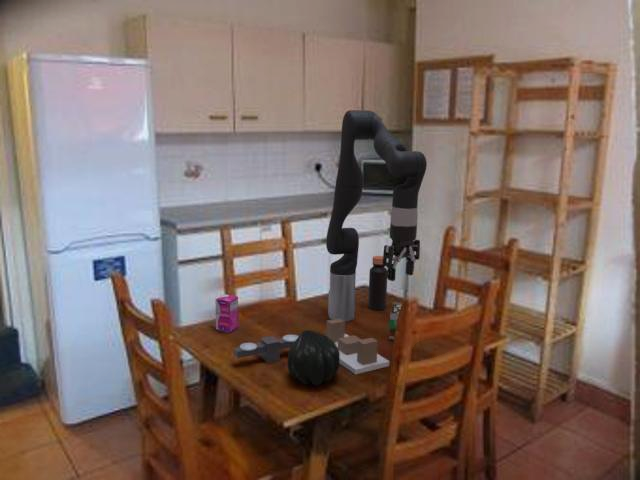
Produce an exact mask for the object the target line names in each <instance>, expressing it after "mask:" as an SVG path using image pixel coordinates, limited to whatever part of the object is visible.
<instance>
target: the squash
mask: <svg viewBox="0 0 640 480" xmlns="http://www.w3.org/2000/svg"><path fill="white" fill-rule="evenodd" d="M298 335H299V337H298V338H297V339H296V340H295V342H294V343H293V344H292V346H291V347H290V348H289V350H288V356H287V360H286V361H287V369H288V372H289V374H290V376H292V377H293V378H294V379H296V380H298V381H300V383H302V384H304V385H310V384H312V385H314V386H320V385H321V384H322V383H323V382H324V381H325V382H328V381H331V380H332V379H333V377H334V375H336V374H337V373H338V371H339V370H340V369H339V368H340V363H339V359H340V353H339V350H338V348H337V346H336V344H335V343H334V342H333V340H332V339H330V338H329V337H327V336H326V334H323V333H321V332H317V331H314V330H310V329H309V330H307V329H303V331H301V333H300V334H298Z"/></svg>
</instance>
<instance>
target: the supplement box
mask: <svg viewBox="0 0 640 480" xmlns="http://www.w3.org/2000/svg"><path fill="white" fill-rule="evenodd" d="M214 301H215V331H216V332H217V331H219V332H223V333H228V334H231V333H232V332H234V331H235V330H237V329H238V328H239V296H236V295H231V294H226V293H224V294H221V295H220V296H218V297H216V298H215V300H214Z"/></svg>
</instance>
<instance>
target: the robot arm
mask: <svg viewBox="0 0 640 480" xmlns="http://www.w3.org/2000/svg"><path fill="white" fill-rule="evenodd" d="M342 118H343V119H342V123H341V134H340V152H339V160H338V162H339V163H338V169H337V174H336V180H335V187H334V196H333V202H332V203H333V204H332V209H331V215H330V219H329V224H328V227H327V231H326V232H327V233H326V239H325V245H326V246H325V247H326V250H327V252H328V253H329V254H330V255H335V256H336V255H342V256H341V257H340V258H339V259H337V260H335V261H333V262H332V263H331V264H330V267H329V272H330V273H329V290H328V303H327V304H328V305H327V306H328V307H327V315H328V319H329V320H334V319H339V318H340V319H342V320H343V321H345V322H350V321H353V320H354V318H355V304H356V301H355V299H356V278H357V277H356V273H357V272H356V271H357V266H358V258H359V246H360V238H359V233H358V231H357V229H356V228H354V227H343V226H344V223H345V220H346V219H347V217H348V216H349V215H350V213H351V212H352V211H353V209H354V208H355V207H356V206H357V205H358V203H359V202H360V200H361V198H362V195H363V188H364V182H365V177H364V174H363V171H362V169H361V167H360V165H359V163H358V161H357V158H356V155H355V142H356V140H358V141H359V140H361V141H362V140H364V141H367V140H372V141H373V148H374V152H375V153H376V154H377V155H378V157H380V158H381V160H383V161H384V163H385V165H386V167H387V170H388V172H389V174H390V175H392V176H394V177H395V178H407V179H406V180H405V182H404V183H402V184H399V185H396V186H394V188H393V190H392V200H391V201H392V204H391V211H390V212H391V213H390V220H389V221H390V222H389V224H390V225H389V238H390V239H391V245H388V244H385V245H384V246H383V255H382V256H383V264H382V265H383V266H384V267H385V268H386V269H387V271H388V272H387V281H391V282H394V281H396V273H397V272H396V270H397V268H396V267H397V265H398V264H399V263H400V262H401V261H402V259H404V258H405V259H406V262H405V274H406V275H408V276H413V275H414V272H415V269H414V268H415V263H416V261H417V260H420V256H421V255H420V253H421V252H420V251H421V247H420V246H421V241H420V239H417V231H418V215H419V214H418V205H419V204H418V203H419V202H418V201H419V192H420V188H421V185H422V182H423V180H424V177H425V175H426V171H427V158H426V156H425V154H424V153H423V152H422V151H418V150H416V151H415V150H412V151H411V150H409V151H408V150H407V148H406V146H405V145H404V144H403V143H402V141H401V140H399V139H397V137H395V136H394V135H393V134H392V133H391V132H390V130H388V127H387V126H386V125H385V124H384V122H383V121H382V120H381V118H380V117H379V116H378V114H377V113H376V112H374V111H372V110H365V109H363V110H361V109H359V110H358V109H357V110H356V109H354V110H353V109H351V110H347V111H346V112H345V113H344V115H343V117H342Z"/></svg>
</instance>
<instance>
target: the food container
mask: <svg viewBox="0 0 640 480" xmlns="http://www.w3.org/2000/svg"><path fill="white" fill-rule="evenodd" d="M402 304H403V303H400V302H397V301H396V302H395V301H392V309H391V312H390V313H389V337H388V339H389V340H388V341H389V342H394V341H393V339H394V335H395V332H396V324H397V319H398V315H399V312H400V309H401V306H402Z"/></svg>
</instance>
